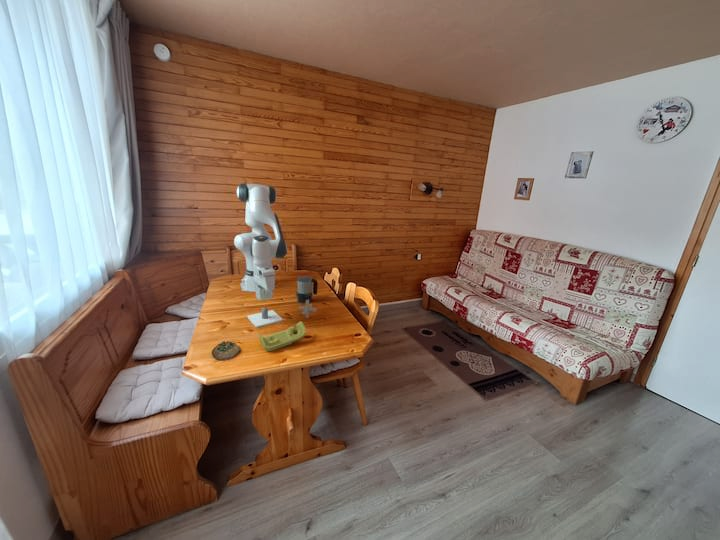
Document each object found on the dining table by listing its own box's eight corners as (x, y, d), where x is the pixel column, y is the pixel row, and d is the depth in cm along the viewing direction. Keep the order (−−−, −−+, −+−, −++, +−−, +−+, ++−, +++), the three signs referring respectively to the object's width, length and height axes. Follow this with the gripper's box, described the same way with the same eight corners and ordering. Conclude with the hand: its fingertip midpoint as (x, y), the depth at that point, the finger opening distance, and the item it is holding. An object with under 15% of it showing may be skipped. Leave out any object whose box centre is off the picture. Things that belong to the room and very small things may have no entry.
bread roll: (213, 347, 121) (214, 337, 119) (241, 346, 124) (242, 337, 123) (208, 362, 111) (209, 352, 109) (238, 362, 114) (239, 352, 113)
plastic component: (265, 349, 117) (258, 331, 123) (265, 358, 122) (258, 340, 127) (308, 334, 127) (300, 318, 133) (307, 343, 132) (299, 327, 138)
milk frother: (305, 304, 168) (305, 282, 164) (286, 299, 176) (285, 276, 172) (319, 297, 180) (319, 276, 176) (301, 292, 188) (300, 271, 184)
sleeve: (255, 296, 145) (255, 285, 143) (268, 294, 149) (267, 283, 147) (260, 300, 140) (259, 289, 138) (273, 298, 144) (272, 287, 142)
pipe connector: (312, 322, 147) (312, 305, 144) (295, 319, 149) (294, 302, 146) (319, 314, 156) (319, 298, 154) (302, 312, 158) (302, 296, 155)
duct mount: (247, 317, 149) (246, 307, 147) (272, 311, 157) (272, 301, 156) (256, 327, 138) (255, 317, 137) (282, 320, 147) (282, 310, 145)
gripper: (249, 264, 145) (251, 289, 149) (263, 274, 130) (265, 301, 134) (261, 262, 149) (262, 286, 153) (276, 272, 134) (277, 298, 138)
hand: (264, 293), depth 144 cm, fingers closed on sleeve, 7 cm apart
